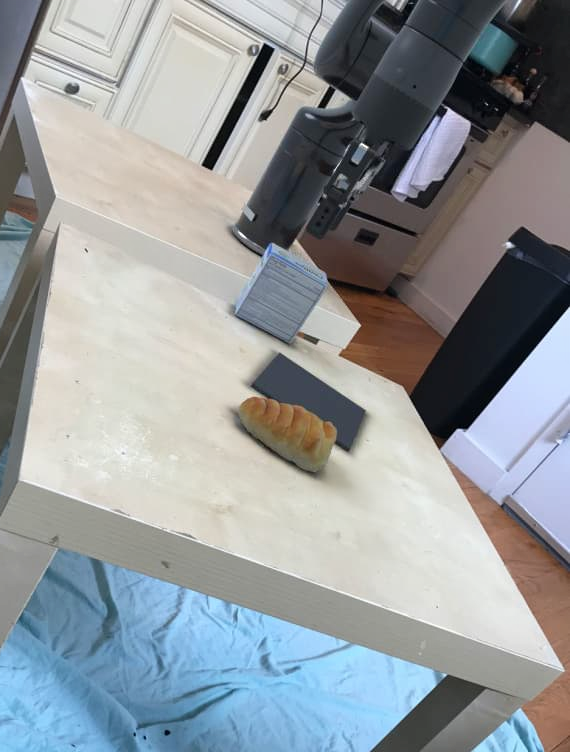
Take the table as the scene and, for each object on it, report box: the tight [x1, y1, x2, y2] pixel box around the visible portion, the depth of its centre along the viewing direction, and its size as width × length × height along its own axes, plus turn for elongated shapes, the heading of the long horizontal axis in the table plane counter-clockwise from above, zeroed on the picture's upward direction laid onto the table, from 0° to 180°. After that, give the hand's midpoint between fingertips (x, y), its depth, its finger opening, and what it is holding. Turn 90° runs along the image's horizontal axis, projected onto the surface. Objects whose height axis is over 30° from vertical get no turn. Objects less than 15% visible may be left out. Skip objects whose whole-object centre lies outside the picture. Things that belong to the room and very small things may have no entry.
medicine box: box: [234, 243, 329, 345], centre depth 89 cm, size 8×4×9 cm, turn 84°
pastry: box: [237, 396, 337, 473], centre depth 69 cm, size 9×7×4 cm
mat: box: [250, 352, 367, 452], centre depth 81 cm, size 12×12×1 cm
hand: (320, 230), depth 85 cm, fingers open, 8 cm apart
